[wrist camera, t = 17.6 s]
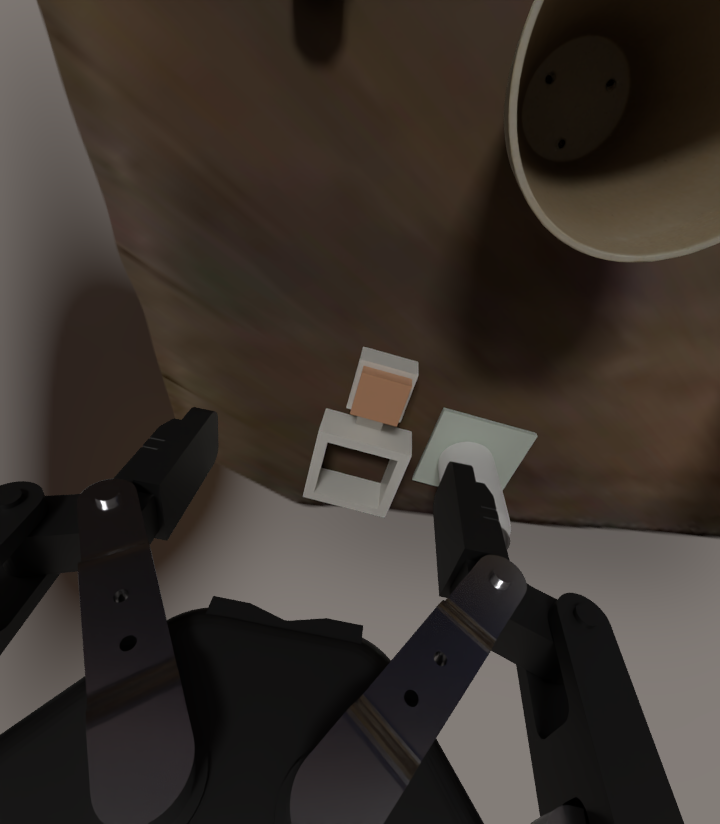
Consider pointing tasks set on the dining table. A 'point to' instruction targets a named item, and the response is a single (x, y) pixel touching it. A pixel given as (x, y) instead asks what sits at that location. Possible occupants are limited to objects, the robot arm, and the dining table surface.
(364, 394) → the light brown square block
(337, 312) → the dining table surface
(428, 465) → the pad
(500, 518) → the can
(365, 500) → the white piece
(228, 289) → the dining table surface
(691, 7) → the plant pot
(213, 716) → the robot arm
